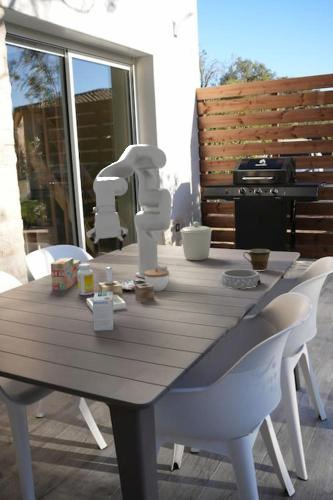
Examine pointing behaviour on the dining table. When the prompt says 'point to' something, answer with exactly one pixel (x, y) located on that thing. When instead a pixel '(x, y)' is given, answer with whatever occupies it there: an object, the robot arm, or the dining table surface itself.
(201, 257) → the canister
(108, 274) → the steel pin
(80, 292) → the supplement bottle
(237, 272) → the dog bowl
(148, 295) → the walnut block
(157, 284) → the lidded jar
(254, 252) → the ceramic cup
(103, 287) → the oak block
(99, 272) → the dining table surface
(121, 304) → the tray
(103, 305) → the light bulb box
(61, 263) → the stack of blocks
